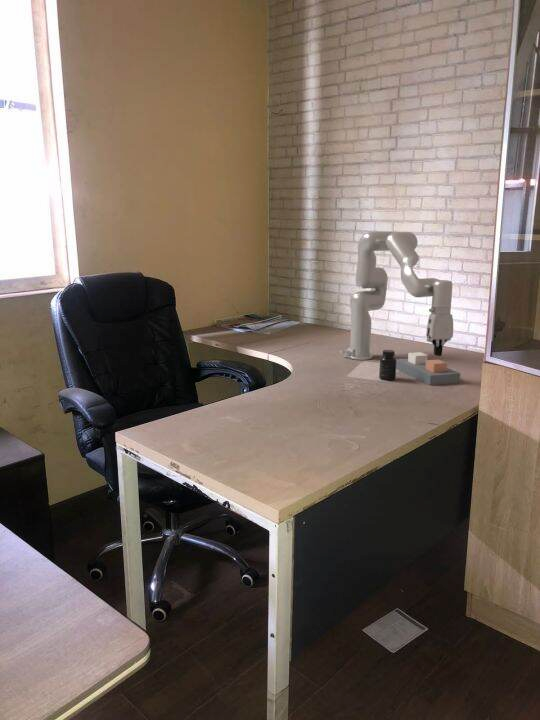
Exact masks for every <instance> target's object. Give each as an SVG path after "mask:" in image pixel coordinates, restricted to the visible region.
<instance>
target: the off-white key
mask: <svg viewBox="0 0 540 720" xmlns="http://www.w3.org/2000/svg"><path fill="white" fill-rule="evenodd" d="M428 356H429V355H428V354H427V353H423V352H422V351H421V352H420V351H418V352H408V355H407V359H408V362H410V363H413V364H426V360H429V357H428Z"/></svg>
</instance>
